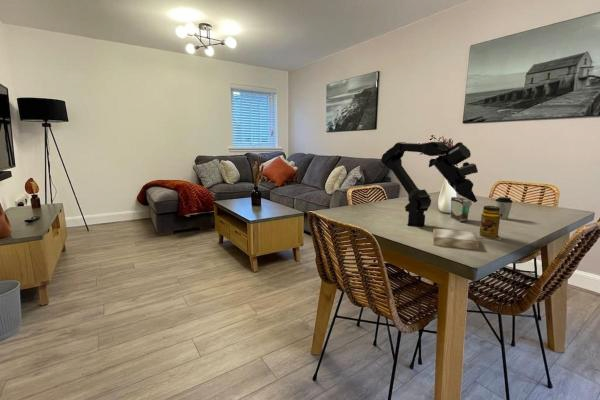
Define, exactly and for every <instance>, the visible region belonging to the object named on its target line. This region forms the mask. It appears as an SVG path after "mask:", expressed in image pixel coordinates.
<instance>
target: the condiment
mask: <svg viewBox="0 0 600 400" xmlns="http://www.w3.org/2000/svg"><path fill="white" fill-rule="evenodd" d="M499 210H500V208H499V207H496V205H484V206H483V209H482V211H483V212H481V214H480V215H481V217H480V218H481V219H480V226H479V231H476V232H475V233H476V234H477V237H478V238H479V239H488V240H499V241H501V240H503V239H502V238H501V237H500V236H499V230H500V229H499V228H500V220H501V219H500V214H499Z"/></svg>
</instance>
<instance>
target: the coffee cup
mask: <svg viewBox="0 0 600 400" xmlns="http://www.w3.org/2000/svg"><path fill="white" fill-rule="evenodd" d="M512 205H513V200H512V199H511V197H506V196H503V197H502V196H499V197H498V198H496V199H495V206H496V207H499V208H500V210H499V214H500V220H502V221H504V220H508V219H509V215H510V212H511V208H512Z"/></svg>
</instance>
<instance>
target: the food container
mask: <svg viewBox="0 0 600 400" xmlns="http://www.w3.org/2000/svg"><path fill="white" fill-rule="evenodd" d="M472 202H473V201H471V200H469V199H467V198H465V197H459V196H458V197H457V196H455V197H454V196H451V198H450V218H451V219H453V220H455V221H457V222H459V223H467V222H468V217H469V213H470V208H471V206H472V205H473V204H472Z"/></svg>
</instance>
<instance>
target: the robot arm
mask: <svg viewBox="0 0 600 400" xmlns="http://www.w3.org/2000/svg"><path fill="white" fill-rule="evenodd" d="M405 152H411V153H412V152H413V153H421V154H423V155H426V156H429V157H436V158H431V159H429V161H428V162H429V163H428V168H432V167H433V166H434V167H435V168H436V169H437V170H438V172H439V173H440V174H441V175H442V177H444V179H445V180H446V181H447V183H448V184H449V186H450V187H451V188H452V189H453V190H454V191H455V192H456V194H457V195H459V196H461V197H462V198H466V199H469V200H471V202H473V203H476V202H478V199H477V197H476V196H475V193H474V191H473V187H474V182H472V181H471V180H470V179H469V178H467V176H469V175H472V174H478V170H479V169H478V167H477V165H476V164H475V163H470V162H468V161H466V162H464V161H465V160H467V159H469V158H471V154H472V153H471V151H470V149H469V148H468V147H467V146H466V145H464V143H463V142H462V141H461V142H456V143H455V144H454V145H453V146H451V147H450V146H448V145H447V144H446V142H444V141H430V142H424V143H418V142H417V143H416V142H415V143H414V142H404V141H403V142H402V141H399V142H396V143H395V144H394V145H393V146H392V147H390V148H389V149H388V150H386V151H385V153H383V154H382V155H381V158H380V159H381V163H382V165H383V166H384V167H385V168H386V169H388V170H390V171H392V173H393V175H394V176H395V178H396V179H397V180H398V182H399V183H400V184H401V186H402V187H403V189H404V191H405V192H406V193H407V195H408V197H407V199H408V202H409V203H407V204H406V205H405V206H404V209H405V212H406V213H408V216H407V217H408V218H407V220H408V221H407V226H410V227H411V226H412V227H424V225H425V222H426V214H425V212H427V211H428V210H429V208H430V206H431V204H432V203H431V202H432V199H431V195H430V194H429V193H428V191H427V190H426V188H425V189H419V188H418V186H417V184H415V182H414V181H413V179H412V178H411V176H410V175H409V173H408V171H406V170H405V168H404V167H403V165H402V163H403V161H402V158H403V157H404V155H405ZM462 162H463V163H462ZM460 163H462V166H460V167H458V166H457V165H458V164H460Z"/></svg>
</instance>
